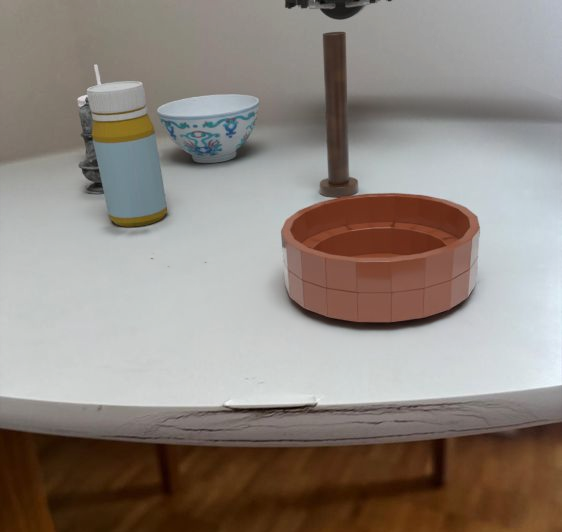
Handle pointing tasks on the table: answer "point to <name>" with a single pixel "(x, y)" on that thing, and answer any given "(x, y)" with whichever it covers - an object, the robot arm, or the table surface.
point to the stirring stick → (336, 118)
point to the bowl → (380, 256)
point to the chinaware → (210, 124)
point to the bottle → (127, 154)
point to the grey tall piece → (89, 151)
